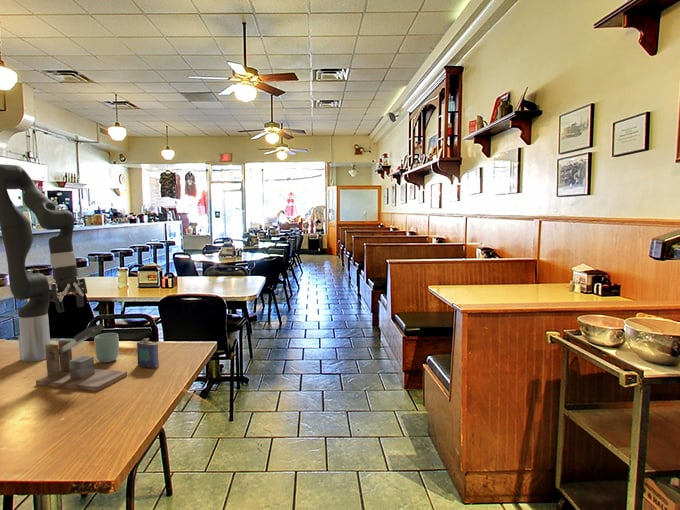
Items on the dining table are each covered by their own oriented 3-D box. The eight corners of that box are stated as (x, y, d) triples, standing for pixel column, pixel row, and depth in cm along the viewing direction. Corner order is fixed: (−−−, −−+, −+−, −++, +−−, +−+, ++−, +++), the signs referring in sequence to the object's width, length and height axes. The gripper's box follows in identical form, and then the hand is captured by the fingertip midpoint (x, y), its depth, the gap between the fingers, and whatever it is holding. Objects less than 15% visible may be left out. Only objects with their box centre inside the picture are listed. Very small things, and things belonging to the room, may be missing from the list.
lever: (49, 359, 140) (46, 353, 140) (66, 353, 146) (63, 348, 146) (89, 334, 136) (86, 328, 136) (104, 328, 142) (101, 323, 142)
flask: (160, 366, 154) (159, 338, 153) (154, 369, 152) (152, 340, 150) (141, 363, 158) (139, 335, 157) (135, 366, 155) (133, 338, 154)
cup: (123, 357, 164) (122, 332, 163) (111, 364, 157) (109, 338, 156) (105, 357, 165) (103, 332, 164) (91, 364, 157) (89, 338, 156)
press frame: (36, 385, 138) (33, 348, 137) (69, 370, 151) (67, 336, 150) (97, 391, 133) (95, 353, 132) (127, 375, 146) (125, 340, 144)
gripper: (71, 263, 159) (78, 306, 160) (37, 268, 145) (45, 314, 146) (88, 262, 157) (95, 304, 158) (55, 266, 143) (62, 313, 144)
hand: (71, 309), depth 152 cm, fingers open, 8 cm apart
